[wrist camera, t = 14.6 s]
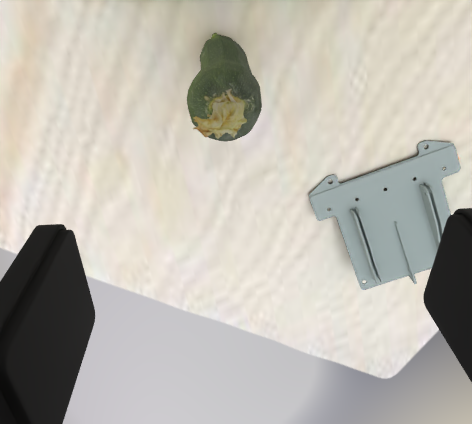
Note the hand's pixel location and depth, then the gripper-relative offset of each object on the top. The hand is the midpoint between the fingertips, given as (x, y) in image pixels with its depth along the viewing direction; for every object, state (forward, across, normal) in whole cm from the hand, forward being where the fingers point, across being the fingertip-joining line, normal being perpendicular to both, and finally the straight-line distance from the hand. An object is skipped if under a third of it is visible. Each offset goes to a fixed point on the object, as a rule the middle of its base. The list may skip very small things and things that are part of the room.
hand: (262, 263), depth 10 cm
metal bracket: (+29, -17, +18) cm, 38 cm away
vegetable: (+29, +1, +1) cm, 29 cm away
